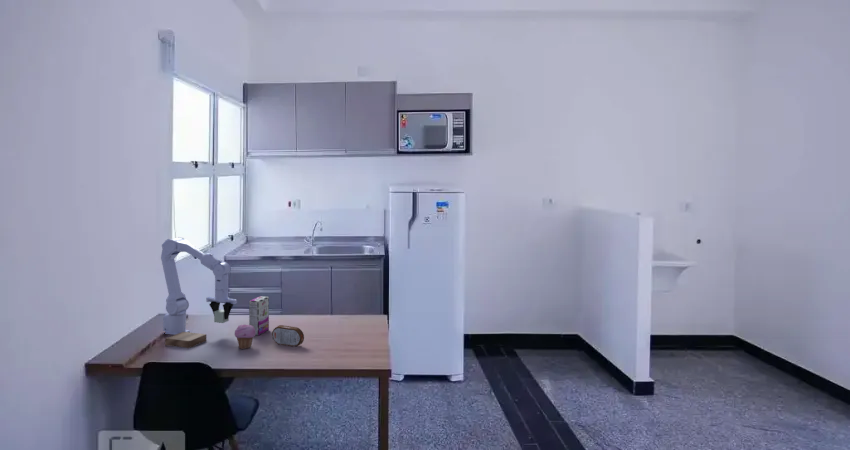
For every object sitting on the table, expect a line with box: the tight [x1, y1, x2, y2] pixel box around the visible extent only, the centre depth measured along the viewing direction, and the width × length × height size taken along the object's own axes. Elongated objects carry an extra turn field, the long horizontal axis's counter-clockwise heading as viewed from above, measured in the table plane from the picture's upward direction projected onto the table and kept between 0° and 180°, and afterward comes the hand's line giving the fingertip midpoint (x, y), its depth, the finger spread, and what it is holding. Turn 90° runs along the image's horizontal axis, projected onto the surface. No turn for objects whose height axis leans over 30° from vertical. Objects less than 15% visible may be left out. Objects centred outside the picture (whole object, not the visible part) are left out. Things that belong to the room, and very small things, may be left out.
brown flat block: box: [164, 331, 207, 349], centre depth 268 cm, size 12×12×3 cm
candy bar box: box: [248, 295, 270, 337], centre depth 288 cm, size 11×5×16 cm, turn 168°
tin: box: [271, 324, 305, 347], centre depth 270 cm, size 15×3×8 cm, turn 71°
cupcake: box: [234, 324, 256, 350], centre depth 264 cm, size 9×9×10 cm
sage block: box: [213, 308, 230, 324], centre depth 280 cm, size 4×4×5 cm
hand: (221, 318), depth 280 cm, fingers closed on sage block, 4 cm apart
